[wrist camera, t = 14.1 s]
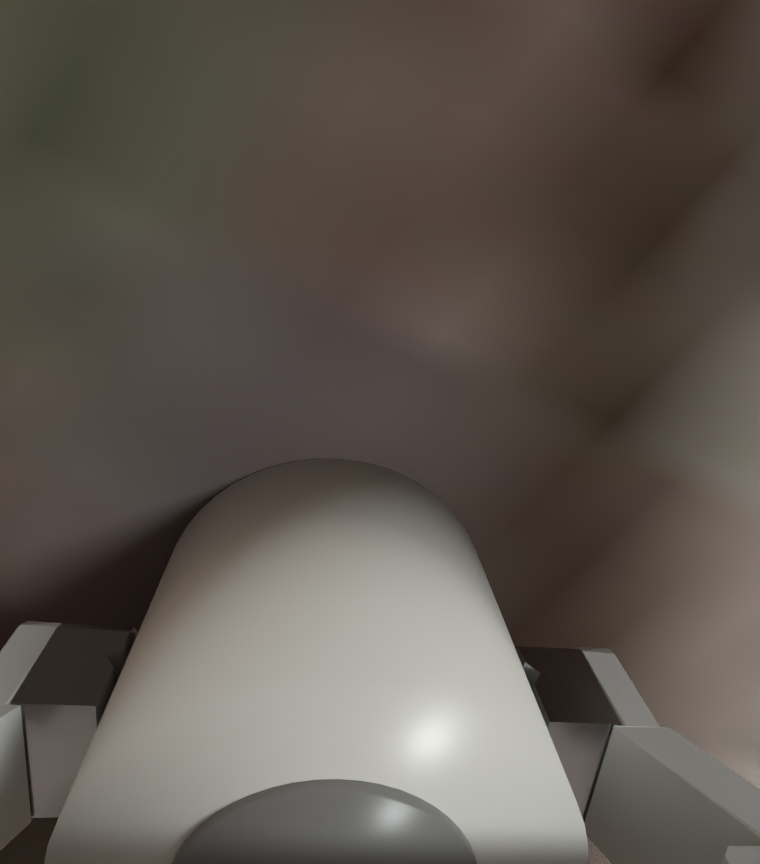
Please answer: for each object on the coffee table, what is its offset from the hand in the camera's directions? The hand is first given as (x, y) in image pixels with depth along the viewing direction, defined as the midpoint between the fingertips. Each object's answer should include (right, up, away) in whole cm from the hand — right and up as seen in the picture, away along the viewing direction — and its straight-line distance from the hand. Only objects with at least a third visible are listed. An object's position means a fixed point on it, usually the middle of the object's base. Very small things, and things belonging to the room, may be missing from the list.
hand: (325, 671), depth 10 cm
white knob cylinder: (0, +1, +2) cm, 2 cm away
